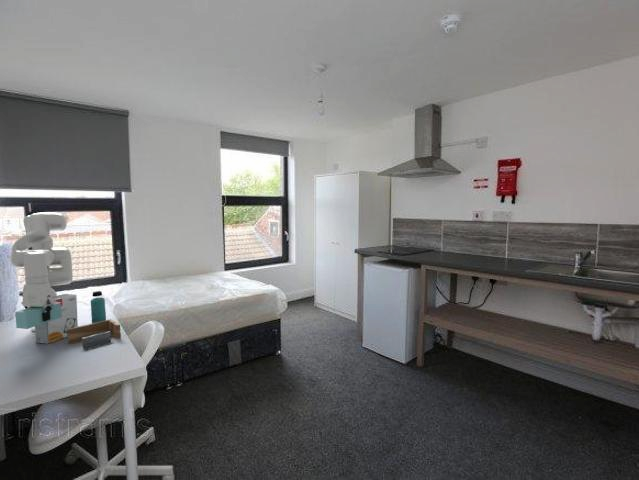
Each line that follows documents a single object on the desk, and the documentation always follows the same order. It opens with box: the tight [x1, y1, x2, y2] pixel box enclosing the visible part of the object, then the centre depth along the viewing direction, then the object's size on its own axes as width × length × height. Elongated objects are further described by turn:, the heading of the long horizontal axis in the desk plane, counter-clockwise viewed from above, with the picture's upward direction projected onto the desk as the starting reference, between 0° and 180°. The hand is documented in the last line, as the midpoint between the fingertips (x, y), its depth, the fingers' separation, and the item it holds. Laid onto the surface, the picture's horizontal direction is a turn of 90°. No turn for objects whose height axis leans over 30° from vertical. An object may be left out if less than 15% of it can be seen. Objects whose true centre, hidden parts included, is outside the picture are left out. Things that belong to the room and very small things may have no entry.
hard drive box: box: [34, 293, 79, 345], centre depth 158 cm, size 16×8×20 cm, turn 168°
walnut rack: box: [67, 319, 122, 345], centre depth 154 cm, size 12×18×7 cm
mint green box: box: [14, 302, 62, 330], centre depth 142 cm, size 6×15×7 cm, turn 170°
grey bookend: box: [81, 331, 115, 352], centre depth 149 cm, size 5×11×4 cm, turn 141°
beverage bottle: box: [90, 290, 107, 324], centre depth 169 cm, size 6×7×20 cm
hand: (39, 319), depth 142 cm, fingers closed on mint green box, 5 cm apart
